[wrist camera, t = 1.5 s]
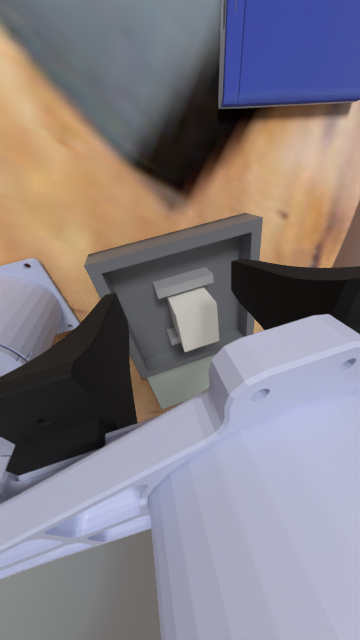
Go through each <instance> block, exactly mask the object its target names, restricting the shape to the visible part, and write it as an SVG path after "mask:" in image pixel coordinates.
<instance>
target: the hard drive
mask: <svg viewBox="0 0 360 640" xmlns="http://www.w3.org/2000/svg"><path fill="white" fill-rule="evenodd" d="M358 100H360V0H221V27H220V63H219V99H218V109H231V108H258V107H278V106H299V105H319V104H339V103H352V102H356V101H358Z"/></svg>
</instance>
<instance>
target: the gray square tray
mask: <svg viewBox="0 0 360 640" xmlns="http://www.w3.org/2000/svg"><path fill="white" fill-rule="evenodd" d="M262 220H263V217H259V216H255V215H251V214H247V213H243V214H239V215H235V216H232V217H228V218H224V219H220V220H217V221H213V222H209V223H205V224H202V225H198V226H194V227H190V228H187V229H183V230H179V231H175V232H171V233H168V234H164V235H160V236H156V237H153V238H149V239H145V240H141V241H138V242H134V243H130V244H126V245H123V246H119V247H115V248H111V249H107V250H104V251H100V252H96V253H92V254H89V255H88V257H87V259H86V262H85V265H84V267H85V268H86V270H87V272H88V274H89V276H90V278H91V280H92V282H93V284H94V286H95V288H96V290H97V292H98V294H99V296H100V298H101V299H102V298H103V296H104V295H106V294H110V293H114V292H116V294H117V297H118V299H119V301H120V304H121V306H122V308H123V310H124V313H125V315H126V317H127V320H128V327H129V354H130V356H131V358H132V360H133V362H134V364H135V366H136V367H137V369H138V371H139V373H140V375H141V377H142V379H145V378H148V377H151V376H154V375H157V374H160V373H163V372H165V371H168V370H171V369H174V368H177V367H180V366H183V365H186V364H189V363H192V362H195V361H198V360H201V359H204V358H207V357H209V356H212V355H215V354H217V353H218V352H219V351H220V350H221V349H222V348H223V347H224V346H225V345H227V344H229V343H231V342H233V341H235V340H237V339H239V338H242V337H245V336H248V335H251V334H253V329H254V318H253V317H252V315H251V314H250V313H249V312H248V311H247V310H246V309H245V308H244V307H243V306H242V305H241V304H240V303H239V301H238V300H237V299H236V297H235V296H234V294H233V292H232V291H231V261H234V260H238V259H250V260H256V261H259V256H260V244H261V232H262ZM201 286H203V287H204V288H205V289H206V290H207V292H208V293H209V294H210V295H211V297H212V298H213V299H214V300H215V301H216V303H217V313H218V327H219V341H217V342H214V343H211V344H208V345H205V346H202V347H199V348H196V349H193V350H190V351H187V352H184V349H183V347H182V344H181V342H180V339H179V337H178V335H177V332H176V330H175V327H174V324H173V321H172V317H171V313H170V309H169V305H168V302H167V298H166V297H167V296H171V295H174V294H177V293H181V292H184V291H187V290H191V289H194V288H197V287H201Z"/></svg>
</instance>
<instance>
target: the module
mask: <svg viewBox="0 0 360 640" xmlns="http://www.w3.org/2000/svg"><path fill="white" fill-rule="evenodd" d="M166 298H167V302H168V305H169V309H170V313H171V317H172V321H173V324H174V327H175V330H176V332H177V335H178V337H179V339H180V342H181V344H182V347H183V349H184V352H187V351H190V350H193V349H196V348H199V347H202V346H205V345H208V344H211V343H214V342H217V341H219V327H218V313H217V303H216V301H215V300H214V299H213V298H212V297H211V295H210V294H209V293H208V292H207V290H206V289H205V288H204V287H203V286H201V287H197V288H194V289H191V290H187V291H184V292H181V293H177V294H174V295H171V296H167V297H166Z"/></svg>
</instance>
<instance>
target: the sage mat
mask: <svg viewBox="0 0 360 640" xmlns="http://www.w3.org/2000/svg"><path fill="white" fill-rule="evenodd" d="M215 355H216V354H215ZM215 355H212V356H209V357H207V358H204V359H201V360H198V361H195V362H192V363H189V364H186V365H183V366H180V367H177V368H174V369H171V370H168V371H165V372H163V373H160V374H157V375H154V376H151V377H148V378H147V380H148V382H149V384H150V386H151V388H152V390H153V392H154V394H155V396H156V398H157V400H158V402H159V404H160V406H161V408H162V409H164V408H167V407H170V406H173V405H176V404H178V403H181V402H184V401H186V400H188V399H190V398H191V397H193V396H195V395H197V394H199V393H200V392H202V391H204V390H206V389H207V388H209V384H210V382H209V374H208V371H209V368H210V364H211V360H212V359H213V357H214V356H215Z"/></svg>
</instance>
